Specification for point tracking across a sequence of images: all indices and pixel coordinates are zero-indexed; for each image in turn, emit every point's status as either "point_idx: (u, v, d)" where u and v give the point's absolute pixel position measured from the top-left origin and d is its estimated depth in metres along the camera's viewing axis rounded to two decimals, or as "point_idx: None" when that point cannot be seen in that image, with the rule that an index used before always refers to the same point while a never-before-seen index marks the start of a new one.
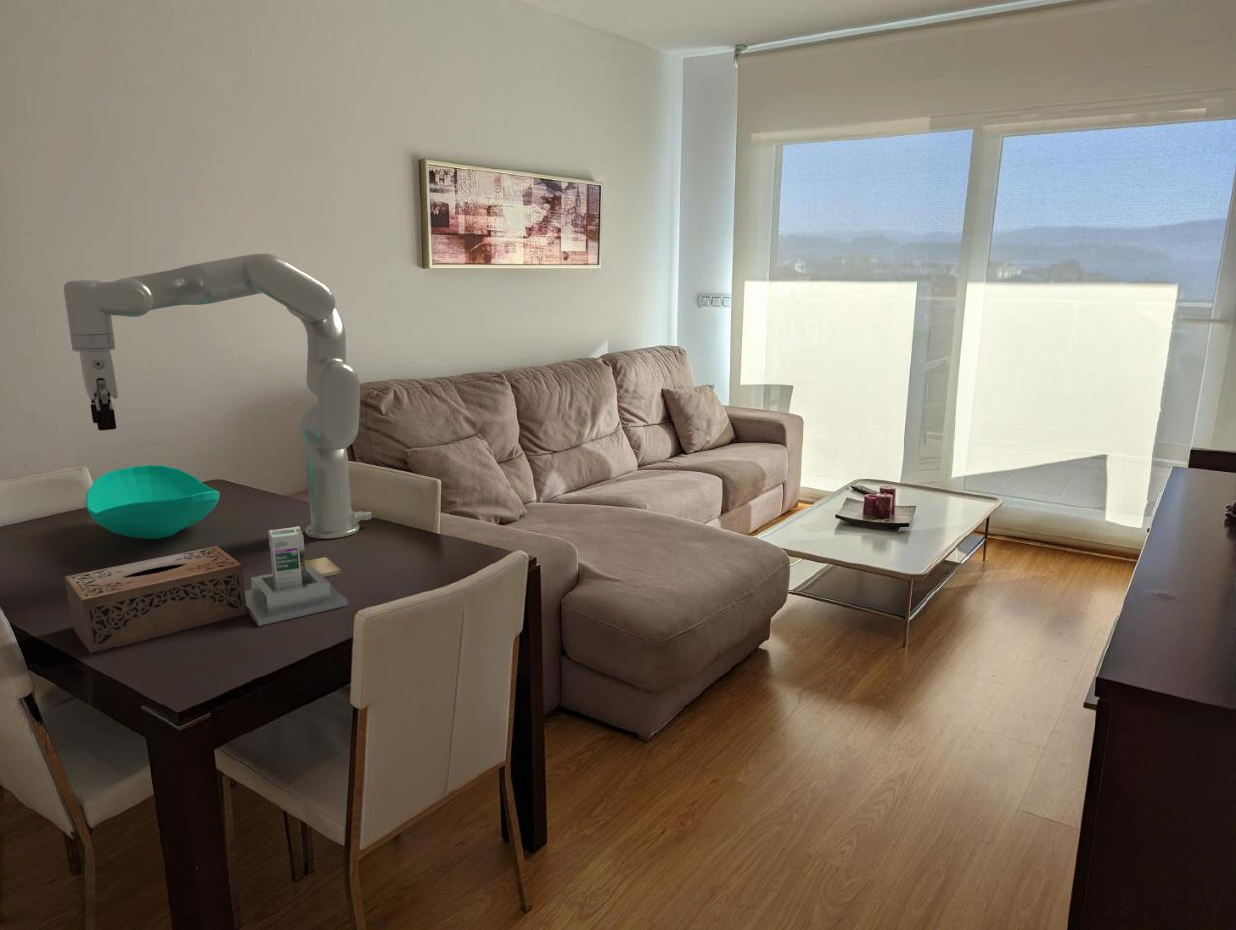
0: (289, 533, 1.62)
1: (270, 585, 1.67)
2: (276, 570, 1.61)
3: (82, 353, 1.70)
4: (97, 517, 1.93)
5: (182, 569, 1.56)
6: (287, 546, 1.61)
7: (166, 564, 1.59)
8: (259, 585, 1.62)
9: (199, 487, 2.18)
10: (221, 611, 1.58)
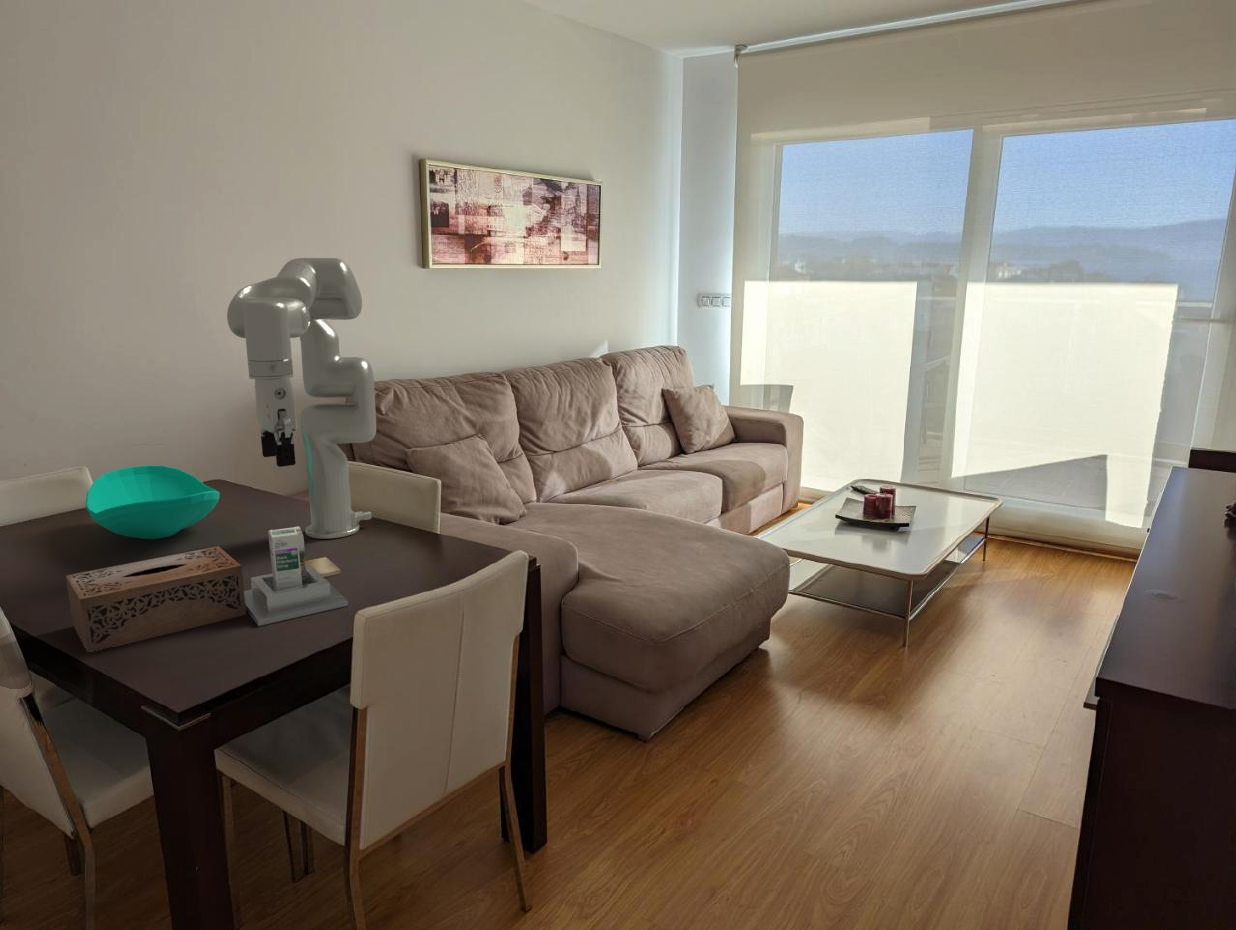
0: (289, 533, 1.62)
1: (270, 585, 1.67)
2: (276, 570, 1.61)
3: (262, 381, 1.53)
4: (97, 517, 1.93)
5: (182, 569, 1.56)
6: (287, 547, 1.61)
7: (166, 564, 1.59)
8: (259, 585, 1.62)
9: (199, 487, 2.18)
10: (220, 612, 1.57)
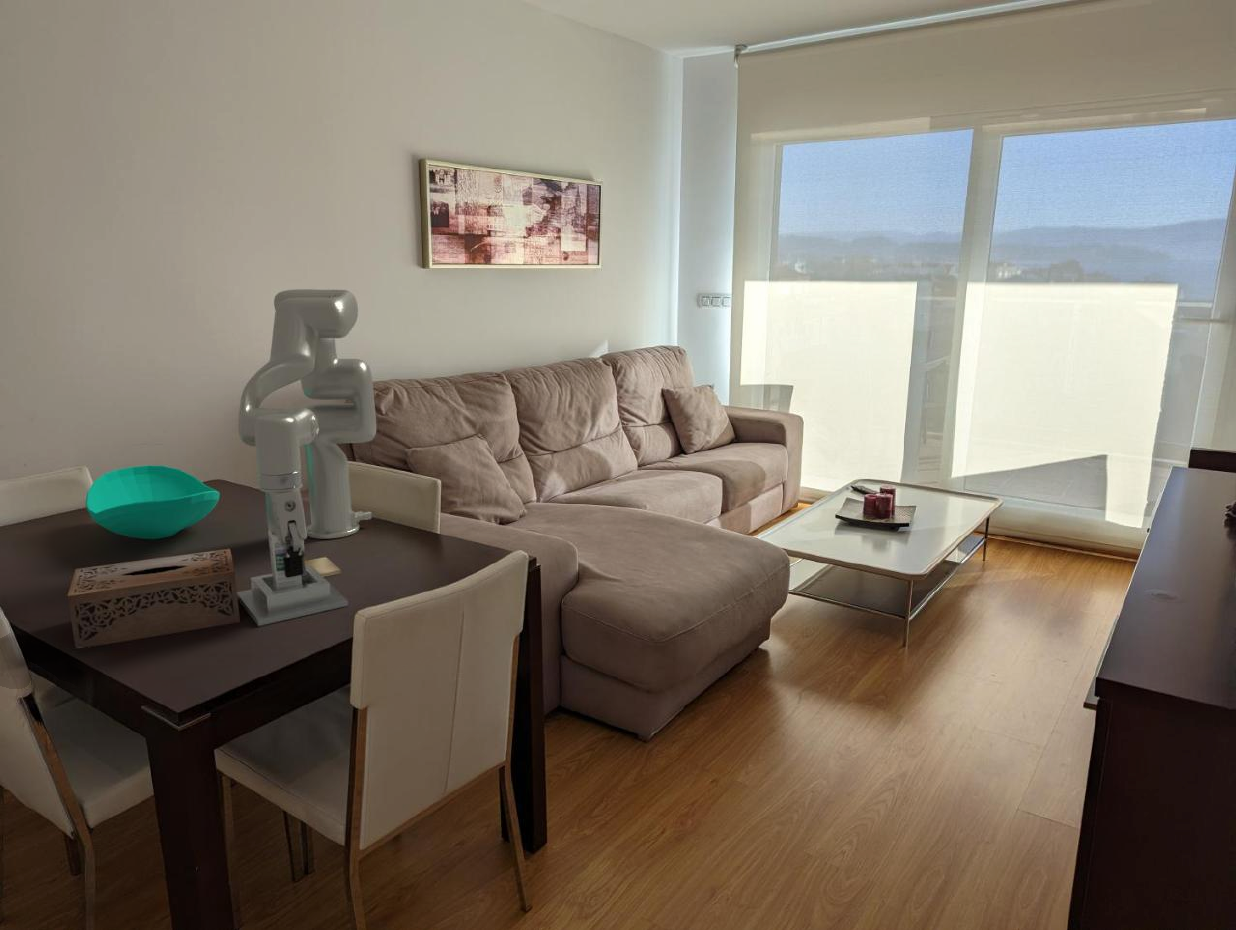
0: None
1: (270, 585, 1.67)
2: (276, 570, 1.61)
3: (272, 494, 1.58)
4: (97, 517, 1.93)
5: (179, 572, 1.55)
6: None
7: (169, 564, 1.58)
8: (259, 585, 1.62)
9: (199, 487, 2.18)
10: (212, 617, 1.55)
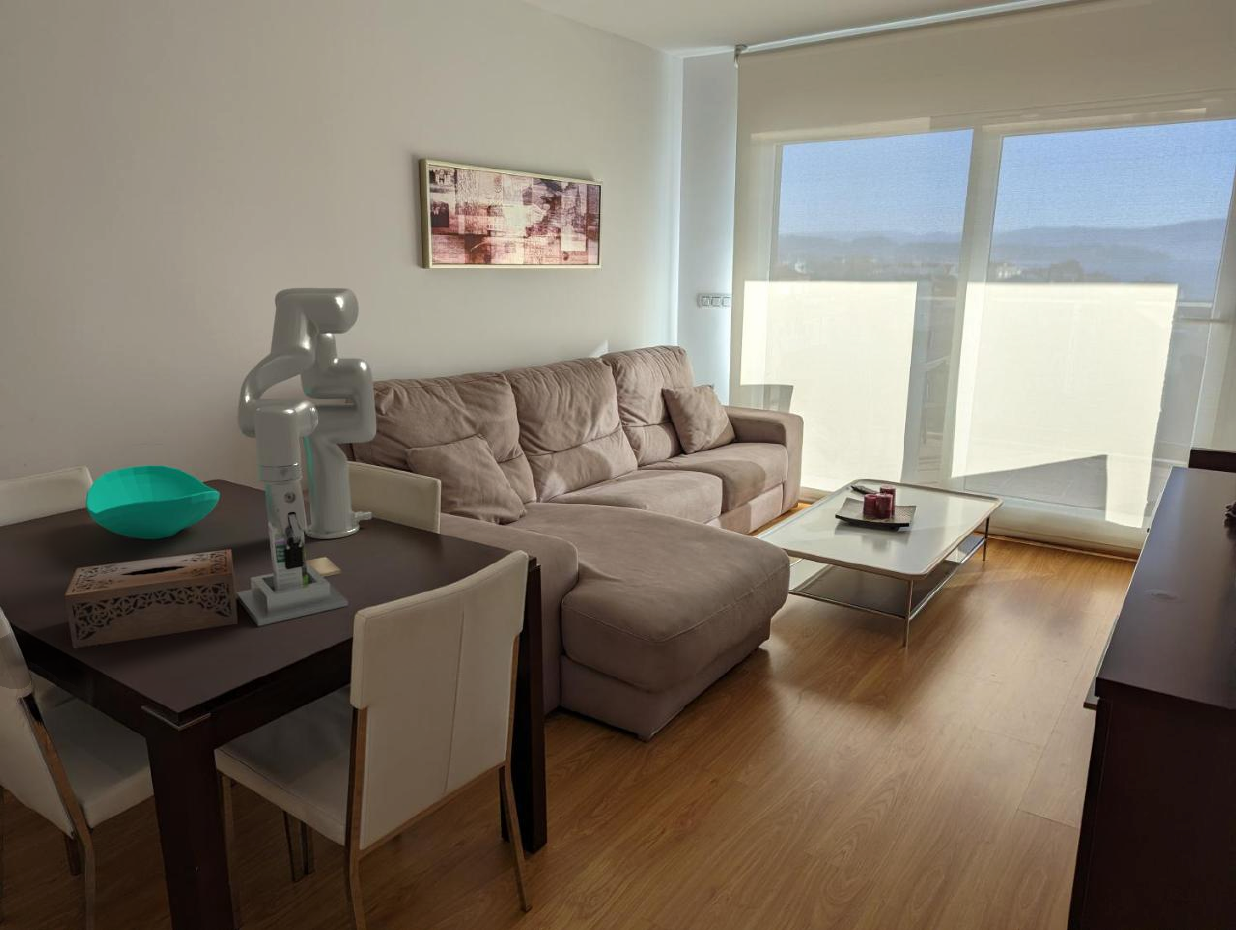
0: None
1: (270, 585, 1.67)
2: (276, 562, 1.61)
3: (272, 485, 1.57)
4: (97, 517, 1.93)
5: (177, 572, 1.54)
6: None
7: (169, 564, 1.58)
8: (259, 585, 1.62)
9: (199, 487, 2.18)
10: (210, 618, 1.54)
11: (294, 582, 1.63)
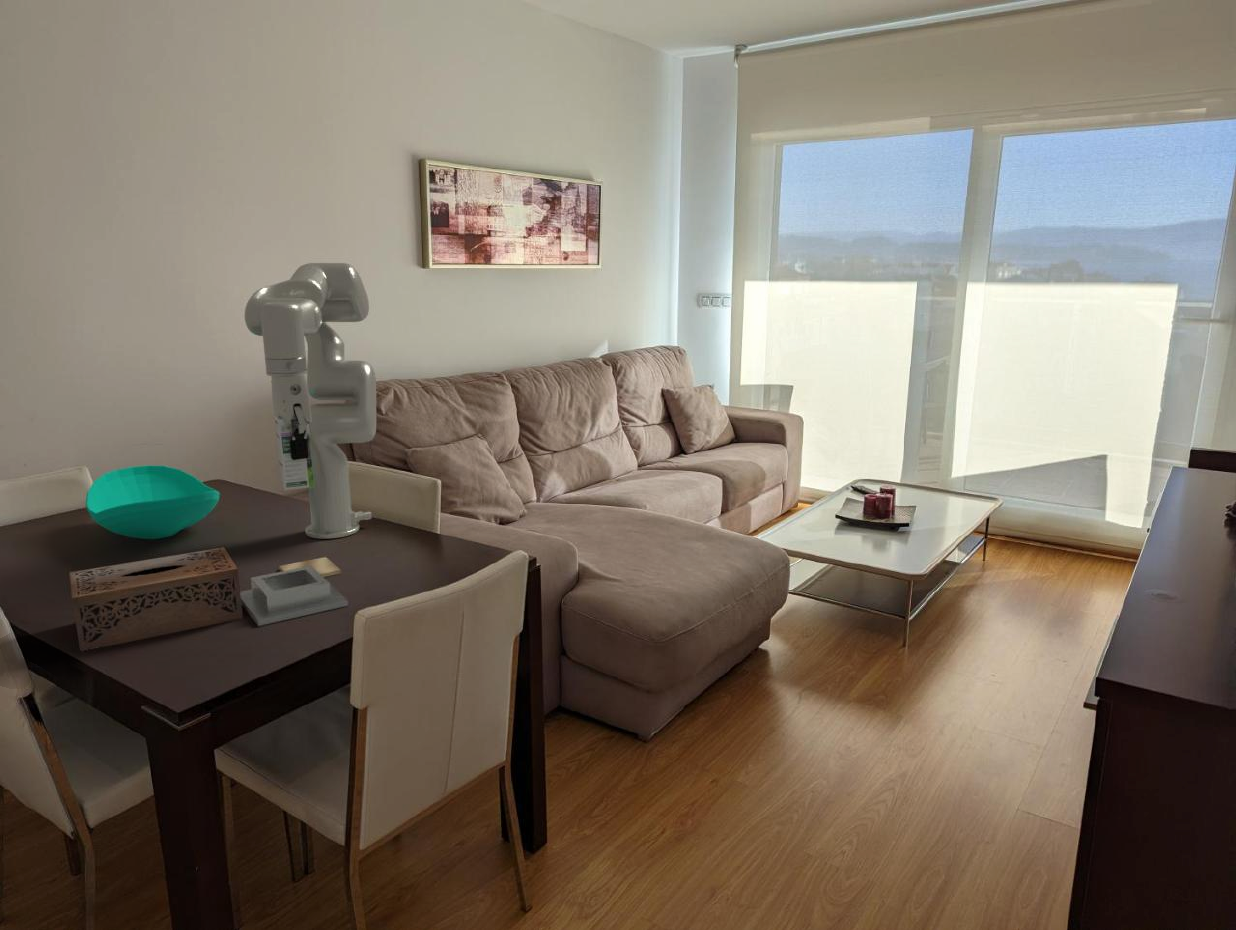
0: None
1: (270, 585, 1.67)
2: (282, 452, 1.68)
3: (278, 378, 1.64)
4: (97, 517, 1.93)
5: (180, 571, 1.55)
6: None
7: (167, 564, 1.58)
8: (259, 585, 1.62)
9: (199, 487, 2.18)
10: (216, 615, 1.56)
11: (299, 473, 1.70)
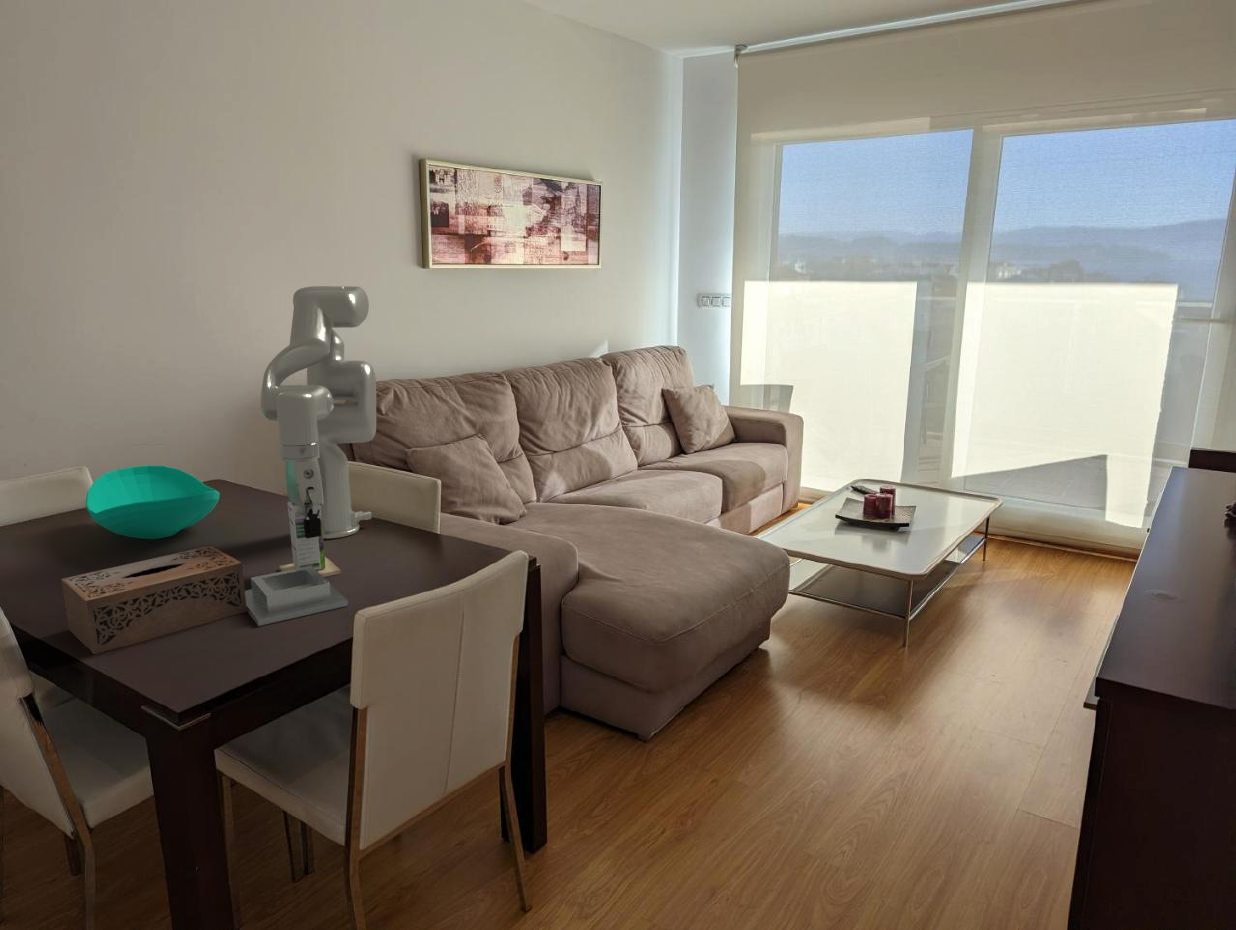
0: None
1: (270, 585, 1.67)
2: (296, 537, 1.78)
3: (293, 463, 1.74)
4: (97, 517, 1.93)
5: (182, 569, 1.56)
6: None
7: (163, 564, 1.59)
8: (259, 585, 1.62)
9: (199, 487, 2.18)
10: (221, 609, 1.58)
11: (312, 556, 1.80)
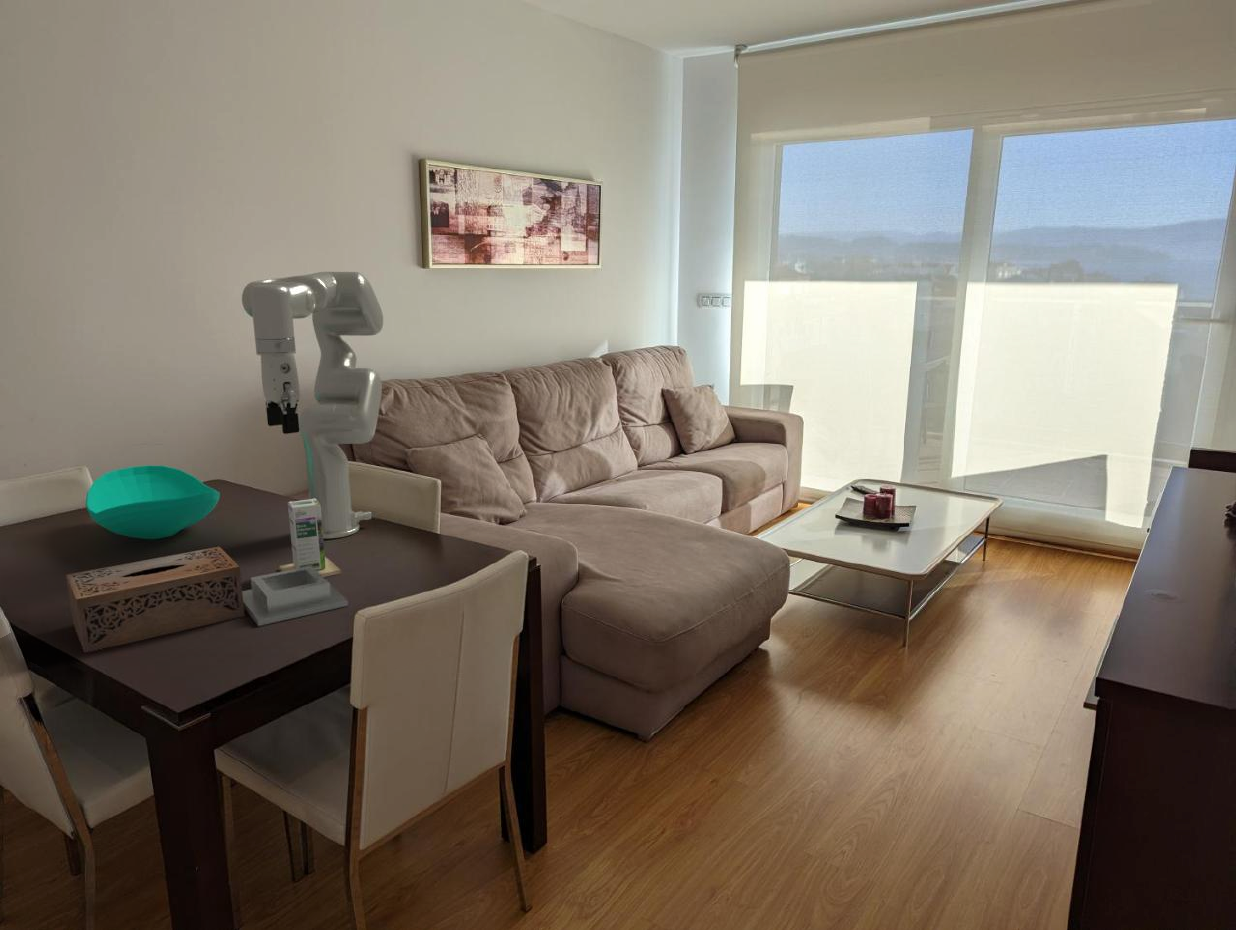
0: (308, 504, 1.78)
1: (270, 585, 1.67)
2: (296, 537, 1.78)
3: (268, 357, 1.71)
4: (97, 517, 1.93)
5: (180, 570, 1.55)
6: (306, 516, 1.78)
7: (166, 564, 1.58)
8: (259, 585, 1.62)
9: (199, 487, 2.18)
10: (218, 613, 1.57)
11: (312, 556, 1.80)
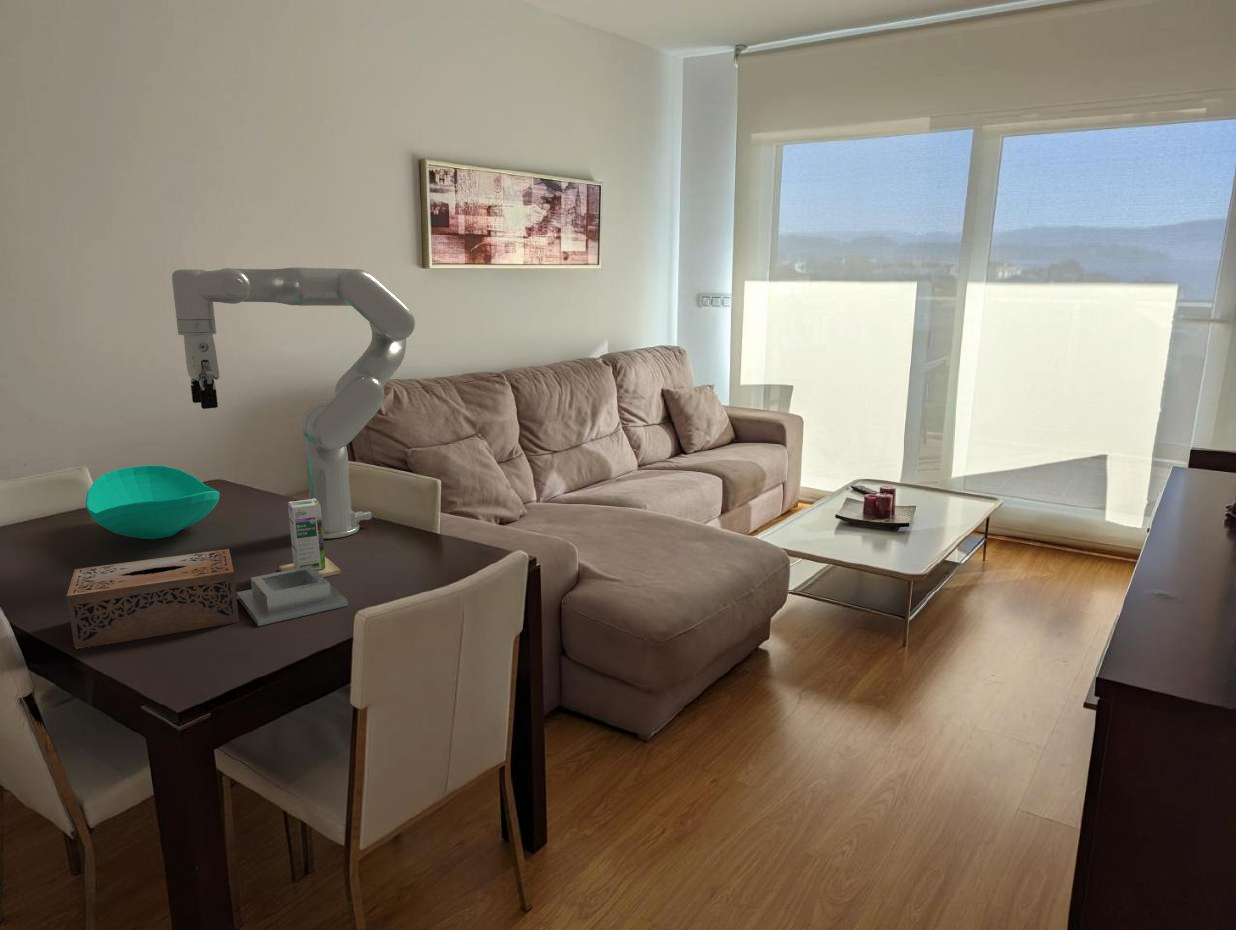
0: (308, 504, 1.78)
1: (270, 585, 1.67)
2: (296, 537, 1.78)
3: (188, 337, 1.83)
4: (97, 517, 1.93)
5: (178, 572, 1.55)
6: (306, 516, 1.78)
7: (169, 564, 1.58)
8: (259, 585, 1.62)
9: (199, 487, 2.18)
10: (211, 617, 1.55)
11: (312, 556, 1.80)
